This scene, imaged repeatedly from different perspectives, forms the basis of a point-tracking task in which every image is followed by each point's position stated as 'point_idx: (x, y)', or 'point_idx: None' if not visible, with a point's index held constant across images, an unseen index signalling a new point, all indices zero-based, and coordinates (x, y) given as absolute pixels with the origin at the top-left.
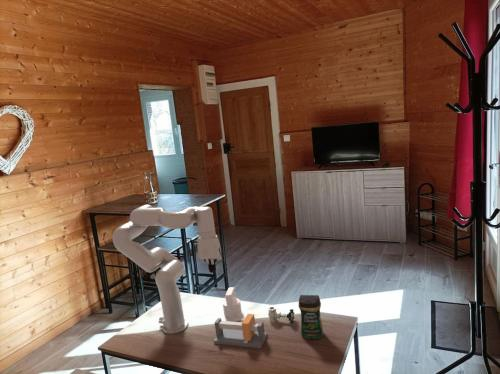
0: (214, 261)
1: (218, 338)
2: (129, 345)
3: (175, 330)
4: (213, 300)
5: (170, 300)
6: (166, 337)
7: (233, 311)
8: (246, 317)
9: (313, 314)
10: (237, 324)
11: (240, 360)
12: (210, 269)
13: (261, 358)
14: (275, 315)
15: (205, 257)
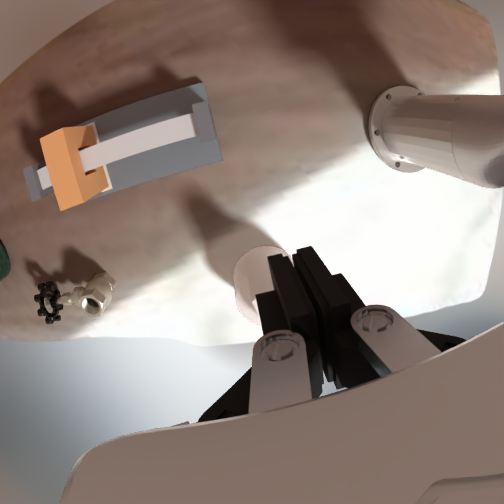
0: (248, 394)
1: (194, 99)
2: (450, 22)
3: (388, 100)
4: None
5: (467, 101)
6: (392, 68)
7: (244, 264)
8: (70, 174)
9: None
10: (110, 143)
11: (72, 62)
12: (305, 270)
13: (28, 104)
14: (84, 289)
15: (469, 376)
